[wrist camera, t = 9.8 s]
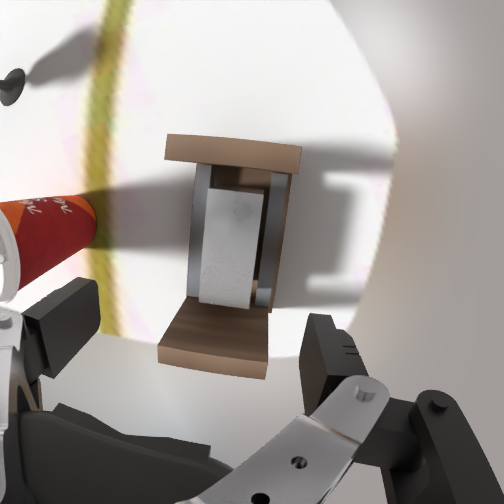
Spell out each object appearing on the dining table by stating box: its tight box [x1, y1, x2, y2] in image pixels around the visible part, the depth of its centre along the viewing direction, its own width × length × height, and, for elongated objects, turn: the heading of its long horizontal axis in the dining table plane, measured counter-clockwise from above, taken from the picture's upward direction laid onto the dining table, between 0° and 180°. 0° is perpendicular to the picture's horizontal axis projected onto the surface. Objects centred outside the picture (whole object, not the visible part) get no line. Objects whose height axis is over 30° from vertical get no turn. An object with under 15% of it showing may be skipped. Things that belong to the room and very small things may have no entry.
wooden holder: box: [157, 134, 301, 379], centre depth 22 cm, size 14×8×11 cm, turn 173°
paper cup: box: [0, 196, 97, 304], centre depth 21 cm, size 8×8×14 cm
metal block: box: [199, 184, 264, 309], centre depth 23 cm, size 8×4×6 cm, turn 173°
